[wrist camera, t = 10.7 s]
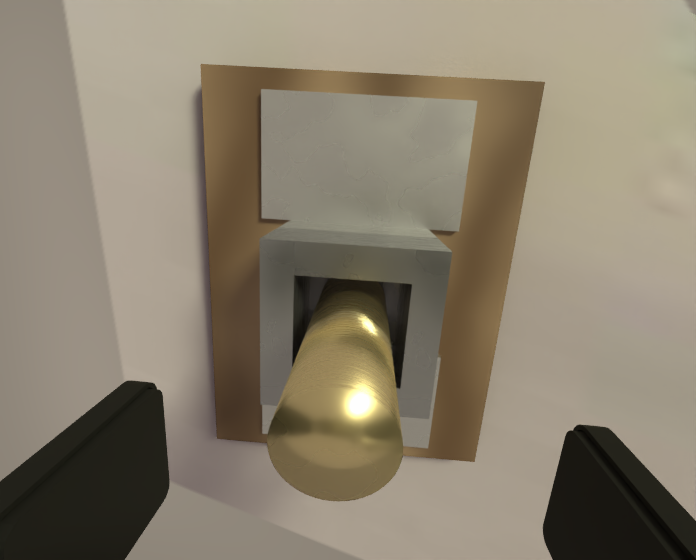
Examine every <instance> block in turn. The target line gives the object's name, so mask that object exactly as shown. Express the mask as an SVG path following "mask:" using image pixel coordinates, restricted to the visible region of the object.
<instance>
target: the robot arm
mask: <svg viewBox="0 0 696 560" xmlns="http://www.w3.org/2000/svg"><path fill="white" fill-rule="evenodd" d="M168 489H169V470H168V457H167V445H166V432H165V419H164V407H163V395H162V392H161V391H160V390H157V388H156V386H155V384H153V383H150V382H140V381H126V382H124V383H123V384H121V385H120V386H119V387H118V388H117V389H115V390H114V391H113V392H111V393H110V394H109V395H108V396H106V397H105V398H104V399H103V400H101V401H100V402H99V403H98V404H97V405H95V406H94V407H93V408H92V409H90V410H89V411H88V412H86V413H85V414H84V415H83V416H81V417H80V418H79V419H78V420H76V422H74V423H73V424H72V425H70V426H69V427H68V428H66V429H65V430H64V431H63V432H61V433H60V434H59V435H58V436H57V437H55V438H54V439H53V440H52V441H50V442H49V443H48V444H46V445H45V446H44V447H43V448H41V449H40V450H39V451H38V452H37V453H35V454H34V455H33V456H31V457H30V458H29V459H28V460H26V461H25V462H24V463H23V464H21V465H20V466H19V467H18V468H16V469H15V470H14V471H13V472H11V474H9V475H8V476H6V477H5V478H4V479H3V480H2V481H1V482H0V560H125V558H126V557H127V555H128V554H129V552H130V551H131V549H132V548H133V546H134V545H135V543H136V541H137V540H138V538H139V537H140V536H141V534H142V533H143V531H144V530H145V528H146V527H147V525H148V524H149V522H150V521H151V519H152V518H153V516H154V515H155V513H156V512H157V510H158V509H159V507H160V506H161V504H162V503H163V501H164V499H165V498H166V495H167V493H168ZM543 535H544V540H545V543H546V546H547V548H548V550H549V552H550V555H551V557H552V559H553V560H696V521H695V520H694V519H693V518H692V516H691V515H690V514H689V513H688V512H687V511H686V510H685V509H684V508H683V507H682V506H681V505H680V504H679V503H678V501H677V500H676V499H675V498H674V497H673V496H672V495H671V494H670V493H669V492H668V491H667V490H666V489H665V487H664V486H663V485H662V484H661V483H660V482H659V481H658V480H657V479H656V478H655V477H654V476H653V475H652V474H651V472H650V471H649V470H648V469H647V468H646V467H645V466H644V465H643V464H642V463H641V462H640V461H639V460H638V459H637V457H636V456H635V455H634V454H633V453H632V452H631V451H630V450H629V449H628V448H627V447H626V446H625V445H624V443H623V442H622V441H621V440H620V439H619V438H618V437H617V436H616V435H615V434H614V433H613V432H612V431H611V430H610V429H609V428H606V427H599V426H589V425H577V426H576V427H575V428H574V430H573V431H568V432H567V434H566V436H565V440H564V444H563V448H562V452H561V456H560V460H559V464H558V468H557V472H556V476H555V480H554V484H553V488H552V492H551V496H550V500H549V504H548V508H547V512H546V516H545V520H544V524H543Z"/></svg>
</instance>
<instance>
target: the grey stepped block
mask: <svg viewBox="0 0 696 560" xmlns="http://www.w3.org/2000/svg"><path fill="white" fill-rule="evenodd" d="M476 108H477V101H473V100H454V99H436V98H418V97H399V96H381V95H363V94H344V93H326V92H307V91H289V90H271V89H261V194H262V218H266V219H280V220H290V221H288V222H287V223H285V224H283V225H282V226H280V227H278V228H277V229H275V230H273V231H271V232H270V233H268V234H266V235H265V236H263V237H261V238H260V405H262V434H268V431H269V427H270V424H271V421H272V419H273V416H274V414H275V411H276V408H277V406H278V403H279V401H280V398H281V395H282V393H283V390H284V388H285V385H286V383H287V380H288V377H289V375H290V372H291V370H292V367H293V364H294V362H295V359H296V357H297V354H298V352H299V349H300V346H301V344H302V341H303V339H304V336H305V333H306V331H307V328H308V326H309V323H310V321H311V318H312V315H313V313H314V310H315V308H316V305H317V302H318V300H319V297H320V295H321V292H322V290H323V287H324V286H325V284H326V283H327V281H328V280H329V279H330V278H338V279H352V280H365V281H378V282H379V284H380V285H381V287H382V289H383V291H384V294H385V300H386V308H387V316H388V324H389V333H390V341H391V349H392V357H393V365H394V373H395V382H396V390H397V398H398V406H399V414H400V423H401V431H402V439H403V446H407V447H418V448H428V445H429V438H430V431H431V424H432V417H433V410H434V403H435V396H436V389H437V382H438V375H439V368H440V361H441V357H440V354H438V352H439V344H440V337H441V330H442V323H443V316H444V309H445V301H446V294H447V287H448V280H449V273H450V266H451V258H452V251H451V250H450V249H449V248H448V247H447V246H446V245H445V244H444V243H442V242H441V241H440V240H439V239H438V238H437V237H436V236H435V235H434V234H433V233H432V232H431V231H430V230H443V231H458V232H459V227H460V220H461V213H462V206H463V199H464V192H465V185H466V178H467V171H468V164H469V157H470V150H471V143H472V136H473V129H474V122H475V115H476Z"/></svg>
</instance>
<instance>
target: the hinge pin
mask: <svg viewBox="0 0 696 560" xmlns="http://www.w3.org/2000/svg"><path fill="white" fill-rule="evenodd" d="M267 446H268V452H269V456H270V459H271V461H272V463H273V465H274V467H275V469H276V470H277V472H278V473H279V474H280V475H281V477H282V478H283V479H284V480H285V481H286V482H288V483H289V484H290V485H291V486H293V487H294V488H296V489H297V490H299V491H301V492H303V493H304V494H307V495H309V496H312V497H315V498H318V499H322V500H329V501H349V500H356V499H359V498H363V497H366V496H368V495H371V494H373V493H374V492H376V491H378V490H379V489H381V488H382V487H384V486H385V485H386V484H387V483H388V482H389V481H390V480H391V479H392V478H393V476H394V475H395V473H396V472H397V470H398V468H399V466H400V463H401V460H402V456H403V439H402V431H401V423H400V414H399V406H398V398H397V390H396V382H395V373H394V365H393V357H392V349H391V341H390V333H389V324H388V316H387V308H386V300H385V294H384V291H383V289H382V287H381V285H380V284H379V282H378V281H365V280H352V279H338V278H330V279H329V280H328V281H327V283H326V284H325V286H324V287H323V290H322V292H321V295H320V297H319V300H318V302H317V305H316V308H315V310H314V313H313V315H312V318H311V321H310V323H309V326H308V328H307V331H306V333H305V336H304V339H303V341H302V344H301V346H300V349H299V352H298V354H297V357H296V359H295V362H294V364H293V367H292V370H291V372H290V375H289V377H288V380H287V383H286V385H285V388H284V390H283V393H282V395H281V398H280V401H279V403H278V406H277V408H276V411H275V414H274V416H273V419H272V421H271V424H270V427H269V431H268V437H267Z"/></svg>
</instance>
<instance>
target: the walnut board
mask: <svg viewBox="0 0 696 560" xmlns="http://www.w3.org/2000/svg"><path fill="white" fill-rule="evenodd" d="M201 84H202V107H203V130H204V152H205V175H206V198H207V221H208V244H209V267H210V290H211V313H212V336H213V359H214V381H215V404H216V427H217V439H227V440H238V441H249V442H260V443H267V437H268V434H262V405H260V238H261V237H263V236H265V235H266V234H268V233H270V232H271V231H273V230H275V229H277V228H278V227H280V226H282V225H283V224H285V223H287V222H288V221H290V220H280V219H266V218H262V194H261V89H271V90H289V91H307V92H326V93H344V94H363V95H381V96H399V97H418V98H436V99H454V100H473V101H477V108H476V115H475V122H474V129H473V136H472V143H471V150H470V157H469V164H468V171H467V178H466V185H465V192H464V199H463V206H462V213H461V220H460V227H459V232H458V231H443V230H430V231H431V232H432V233H433V234H434V235H435V236H436V237H437V238H438V239H439V240H440V241H441V242H442V243H444V244H445V245H446V246H447V247H448V248H449V249H450V250H451V251H452V258H451V266H450V273H449V280H448V287H447V294H446V301H445V309H444V316H443V323H442V330H441V337H440V344H439V352H438V354H440V357H441V361H440V368H439V375H438V382H437V389H436V396H435V403H434V410H433V417H432V424H431V431H430V438H429V445H428V448H418V447H407V446H403V455H404V456H415V457H426V458H437V459H448V460H459V461H470V462H475V456H476V451H477V445H478V440H479V435H480V429H481V424H482V418H483V413H484V408H485V402H486V397H487V391H488V386H489V381H490V375H491V370H492V365H493V359H494V354H495V348H496V343H497V338H498V332H499V327H500V321H501V316H502V311H503V305H504V300H505V294H506V289H507V284H508V278H509V273H510V268H511V262H512V257H513V251H514V246H515V241H516V235H517V230H518V224H519V219H520V214H521V208H522V203H523V197H524V192H525V187H526V181H527V176H528V171H529V165H530V160H531V154H532V149H533V144H534V138H535V133H536V127H537V122H538V117H539V111H540V106H541V100H542V95H543V90H544V84H545V82H534V81H514V80H495V79H476V78H457V77H438V76H419V75H399V74H380V73H361V72H342V71H323V70H304V69H285V68H265V67H246V66H227V65H208V64H201Z"/></svg>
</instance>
